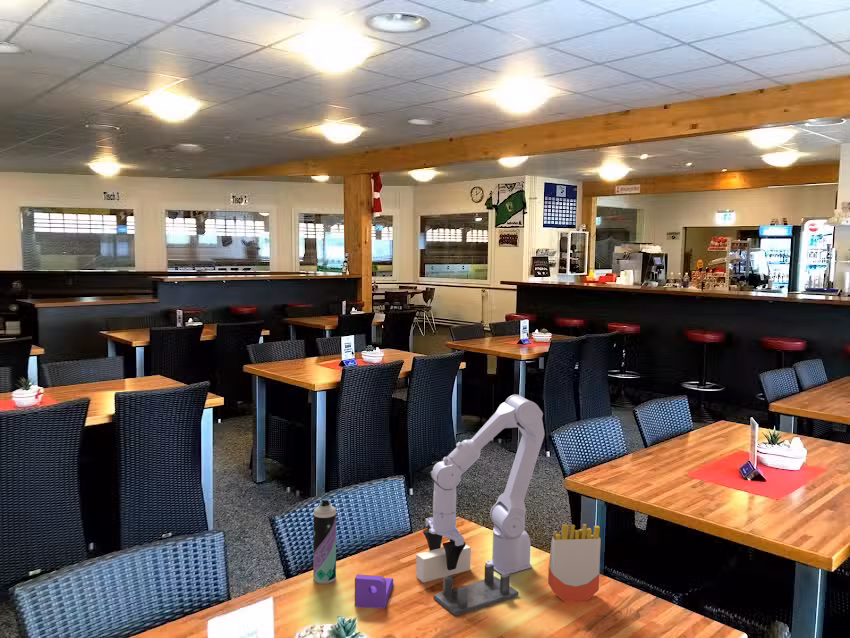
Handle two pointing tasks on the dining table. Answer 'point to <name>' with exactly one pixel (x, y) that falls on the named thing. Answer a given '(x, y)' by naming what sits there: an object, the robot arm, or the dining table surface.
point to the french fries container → (575, 563)
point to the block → (440, 564)
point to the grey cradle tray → (475, 593)
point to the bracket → (372, 590)
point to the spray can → (324, 543)
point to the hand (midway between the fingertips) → (443, 562)
